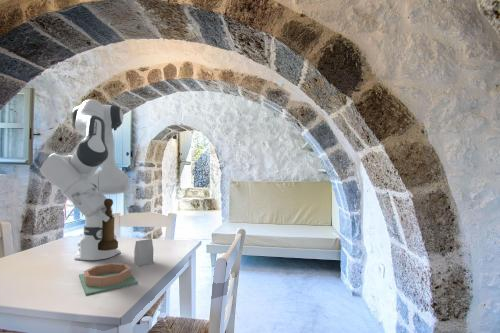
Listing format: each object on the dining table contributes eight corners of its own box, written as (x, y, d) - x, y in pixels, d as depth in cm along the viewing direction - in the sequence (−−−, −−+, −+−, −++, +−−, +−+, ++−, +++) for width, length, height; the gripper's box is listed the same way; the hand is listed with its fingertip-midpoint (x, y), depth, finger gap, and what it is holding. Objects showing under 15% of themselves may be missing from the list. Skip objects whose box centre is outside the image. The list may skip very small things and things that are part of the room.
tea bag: (153, 263, 123) (153, 239, 123) (137, 266, 119) (137, 242, 119) (149, 260, 126) (150, 238, 126) (134, 264, 122) (134, 240, 122)
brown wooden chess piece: (120, 245, 108) (121, 197, 108) (113, 250, 101) (114, 199, 101) (102, 246, 107) (103, 197, 107) (94, 251, 101) (94, 199, 101)
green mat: (78, 276, 107) (78, 274, 107) (124, 267, 117) (124, 266, 117) (85, 295, 91) (85, 293, 91) (138, 283, 101) (138, 282, 101)
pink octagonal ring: (82, 276, 106) (82, 268, 106) (123, 268, 114) (124, 261, 114) (87, 289, 94) (87, 280, 94) (133, 280, 103) (133, 271, 103)
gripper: (77, 187, 93) (109, 217, 95) (96, 184, 113) (122, 208, 115) (61, 201, 92) (94, 231, 94) (83, 195, 112) (110, 220, 114)
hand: (110, 218), depth 104 cm, fingers closed on brown wooden chess piece, 4 cm apart
